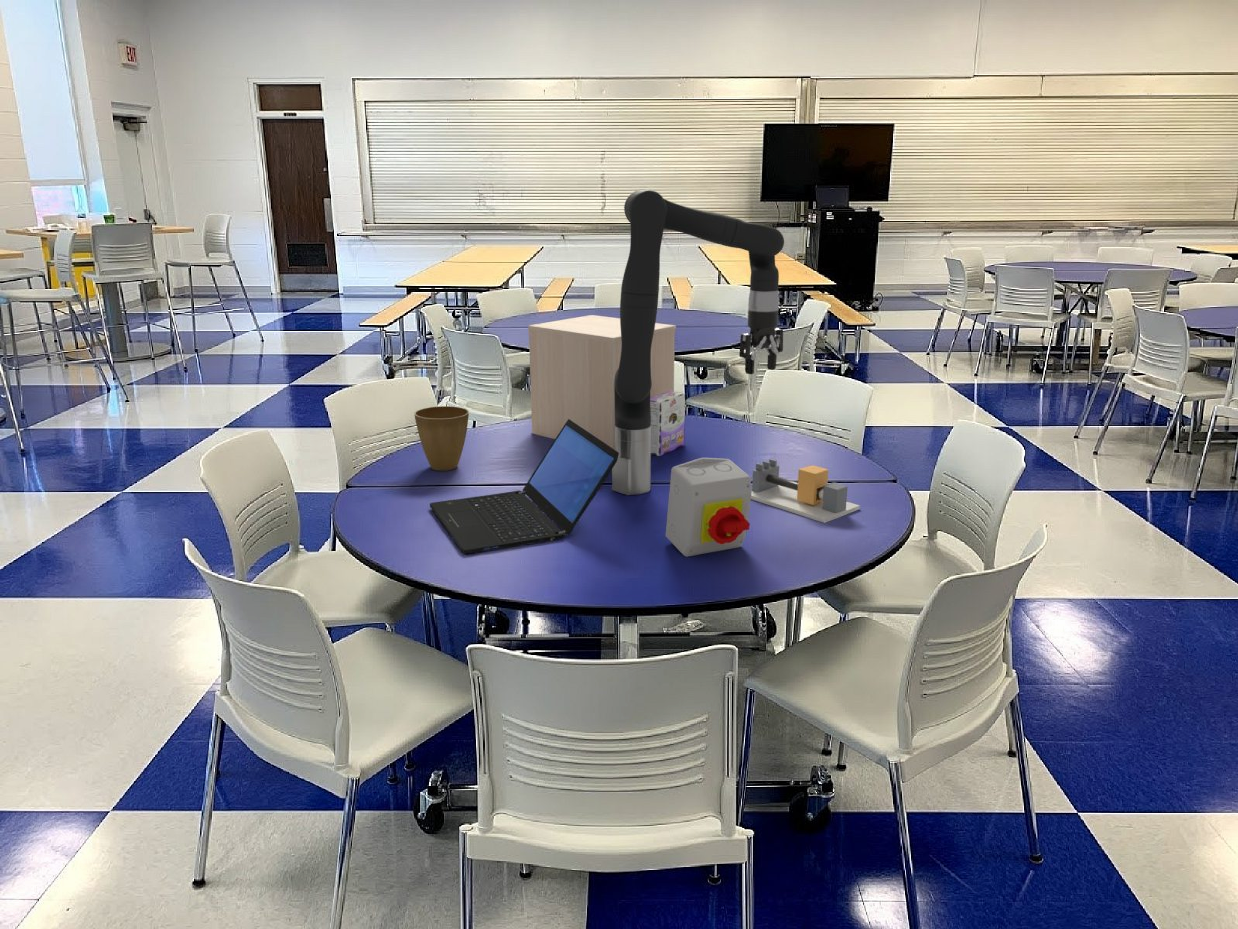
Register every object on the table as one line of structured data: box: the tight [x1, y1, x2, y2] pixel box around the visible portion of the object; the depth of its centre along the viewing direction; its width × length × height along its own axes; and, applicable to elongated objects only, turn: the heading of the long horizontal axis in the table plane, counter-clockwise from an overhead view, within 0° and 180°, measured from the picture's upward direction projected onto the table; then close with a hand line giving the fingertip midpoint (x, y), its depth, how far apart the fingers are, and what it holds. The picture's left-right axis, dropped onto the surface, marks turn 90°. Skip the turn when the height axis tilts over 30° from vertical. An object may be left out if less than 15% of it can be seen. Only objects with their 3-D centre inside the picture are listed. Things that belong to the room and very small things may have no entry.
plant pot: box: [413, 405, 470, 471], centre depth 263 cm, size 15×15×16 cm
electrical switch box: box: [665, 457, 752, 558], centre depth 203 cm, size 15×15×20 cm
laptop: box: [429, 419, 619, 555], centre depth 223 cm, size 33×38×19 cm
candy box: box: [650, 391, 686, 457], centre depth 279 cm, size 14×6×16 cm, turn 144°
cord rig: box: [751, 458, 861, 524], centre depth 234 cm, size 25×14×8 cm, turn 42°
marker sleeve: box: [797, 464, 829, 505], centre depth 232 cm, size 5×5×8 cm
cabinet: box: [527, 314, 677, 450], centre depth 294 cm, size 35×29×34 cm
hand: (760, 371), depth 242 cm, fingers open, 8 cm apart
